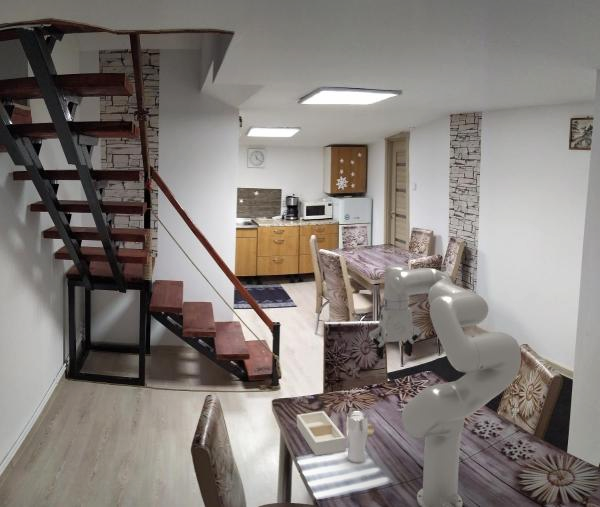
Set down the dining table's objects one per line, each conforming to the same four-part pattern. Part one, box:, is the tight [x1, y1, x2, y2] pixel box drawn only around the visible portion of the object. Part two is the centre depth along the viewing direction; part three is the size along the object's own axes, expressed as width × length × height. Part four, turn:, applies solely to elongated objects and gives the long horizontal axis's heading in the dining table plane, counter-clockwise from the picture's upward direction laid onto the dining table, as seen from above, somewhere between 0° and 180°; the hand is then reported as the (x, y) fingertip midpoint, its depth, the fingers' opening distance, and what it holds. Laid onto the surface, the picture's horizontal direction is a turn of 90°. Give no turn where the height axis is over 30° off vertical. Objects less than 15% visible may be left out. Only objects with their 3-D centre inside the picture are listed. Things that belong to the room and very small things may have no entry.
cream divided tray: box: [296, 410, 346, 456], centre depth 190 cm, size 21×10×5 cm, turn 18°
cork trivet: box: [367, 422, 375, 437], centre depth 196 cm, size 10×10×1 cm
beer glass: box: [345, 410, 369, 464], centre depth 176 cm, size 7×7×15 cm
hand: (394, 356), depth 171 cm, fingers open, 9 cm apart
